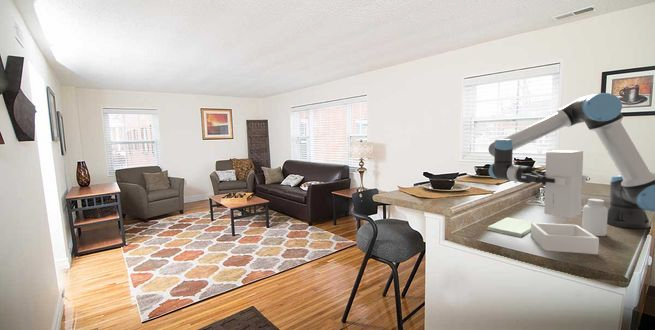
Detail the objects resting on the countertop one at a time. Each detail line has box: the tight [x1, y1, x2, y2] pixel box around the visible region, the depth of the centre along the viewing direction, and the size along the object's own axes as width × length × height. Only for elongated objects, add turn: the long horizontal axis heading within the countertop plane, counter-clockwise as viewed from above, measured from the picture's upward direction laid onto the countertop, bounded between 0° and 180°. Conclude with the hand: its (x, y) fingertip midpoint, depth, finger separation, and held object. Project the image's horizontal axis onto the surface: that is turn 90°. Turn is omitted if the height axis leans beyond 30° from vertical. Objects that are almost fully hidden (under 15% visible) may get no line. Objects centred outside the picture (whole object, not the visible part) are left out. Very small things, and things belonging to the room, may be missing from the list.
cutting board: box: [487, 216, 538, 238], centre depth 140 cm, size 22×14×2 cm, turn 128°
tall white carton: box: [543, 149, 584, 219], centre depth 116 cm, size 9×9×25 cm
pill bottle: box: [581, 198, 608, 237], centre depth 128 cm, size 8×8×15 cm
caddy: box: [530, 222, 600, 255], centre depth 118 cm, size 16×16×6 cm
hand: (575, 180), depth 112 cm, fingers closed on tall white carton, 10 cm apart
